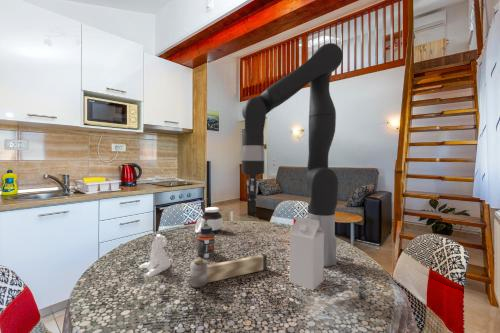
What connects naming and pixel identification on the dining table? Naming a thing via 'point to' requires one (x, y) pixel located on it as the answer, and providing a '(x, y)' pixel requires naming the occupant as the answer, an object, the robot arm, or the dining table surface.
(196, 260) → the dial lever
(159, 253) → the white creature statuette
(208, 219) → the spread jar
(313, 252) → the milk carton
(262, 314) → the dining table surface
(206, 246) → the supplement bottle
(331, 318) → the dining table surface
